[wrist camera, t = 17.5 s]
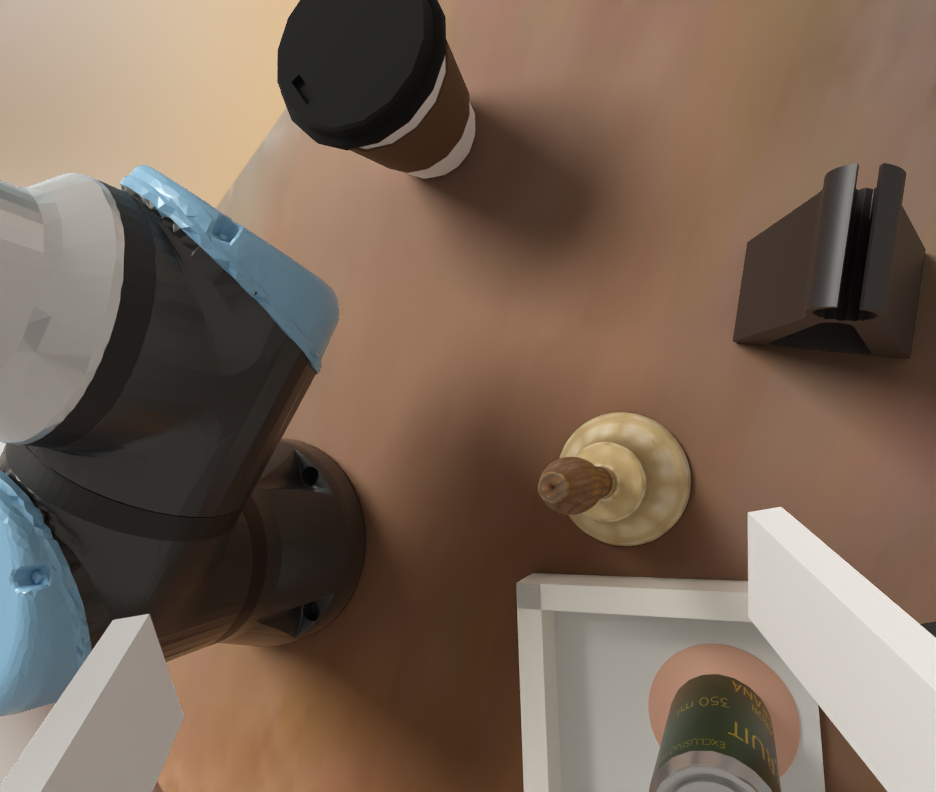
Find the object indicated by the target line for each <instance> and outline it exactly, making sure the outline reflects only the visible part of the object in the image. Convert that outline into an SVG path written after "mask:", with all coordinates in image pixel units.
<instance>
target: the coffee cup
mask: <svg viewBox="0 0 936 792" xmlns="http://www.w3.org/2000/svg"><path fill="white" fill-rule="evenodd" d="M278 84H279V87H280V89H281V93H282V96H283V99H284V101H285V104H286V107H287V109H288V112H289V114H290V117H291V119H292V121H293V122H294V123H295V124H297V125H298V126H299V127H300V128H301V129H302V130H303V131H304V132H305V133H307V134H308V135H309V136H310V137H311V138H312V139H313V140H315V141H316V142H317V143H318V144H322V145H327V146H331V147H335V148H339V149H344V150H351V151H353V152H355V153H357V154H360V155H362V156H364V157H366V158H368V159H370V160H372V161H375V162H377V163H379V164H381V165H383V166H385V167H387V168H390V169H394V170H398V171H402V172H404V173H406V174H408V175H411V176H416V177H420V178H424V179H426V178H432V177H437V176H442V175H446V174H447V173H449V172H450V171H452V170H454V169H455V168H457V167H458V166H459V165H460V164H461V163H462V161H463V160H464V159H465V157H466V156H467V155H468V154H469V152H470V149H471V146H472V143H473V140H474V137H475V113H474V111H473V108H472V106H471V103H470V101H469V92H468V90H467V87H466V85H465V83H464V80H463V78H462V75H461V73H460V71H459V68H458V66H457V64H456V61H455V59H454V56H453V54H452V52H451V49H450V47H449V45H448V42H447V40H446V24H445V15H444V13H443V11H442V9H441V7H440V5H439V3H438V1H437V0H300V2H299V3H298V4H297V6H296V7H295V9H294V10H293V12H292V13H291V15H290V16H289V18H288V21H287V24H286V27H285V30H284V33H283V36H282V39H281V42H280V45H279V48H278Z"/></svg>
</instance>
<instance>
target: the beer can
mask: <svg viewBox="0 0 936 792" xmlns="http://www.w3.org/2000/svg"><path fill="white" fill-rule="evenodd" d="M649 792H781V785H780V777H779V770H778V762H777V754H776V747H775V739H774V731H773V727H772V722H771V717H770V714H769V712H768V710H767V708H766V707H765V705H764V703H763V701H762V700H761V698H760V697H759V696H758V695H757V694H756V693H755V692H754V691H753V690H752V689H751V688H750V687H748V686H747V685H745V684H743V683H742V682H740V681H738V680H737V679H735V678H732V677H728V676H724V675H720V674H706V675H700V676H698V677H695V678H693V679H690V680H688V681H687V682H686V683H685V684H684V685H683V686H682V687H680V688H679V689H678V691H677V693H676V695H675V697H674V699H673V701H672V703H671V707H670V711H669V714H668V718H667V722H666V726H665V730H664V734H663V737H662V741H661V745H660V749H659V753H658V757H657V760H656V764H655V768H654V772H653V776H652V780H651V783H650V788H649Z"/></svg>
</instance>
